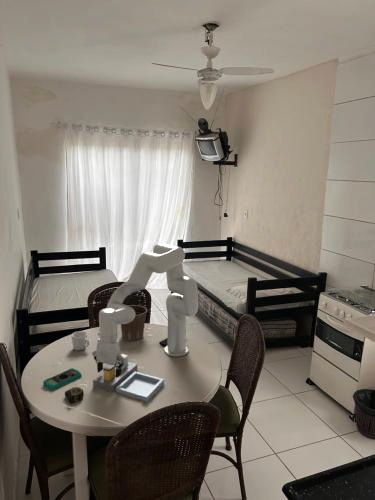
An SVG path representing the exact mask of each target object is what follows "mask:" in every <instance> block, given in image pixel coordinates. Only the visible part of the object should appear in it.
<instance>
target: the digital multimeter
mask: <svg viewBox="0 0 375 500" xmlns="http://www.w3.org/2000/svg"><path fill="white" fill-rule="evenodd" d="M80 378H82V373H81V372H80V371H79V370H78V369H75V368H69V369H68V370H65V371H63V372H60V373H58V374H56V375H54V376H52V377H49V378H47V379H44V380H43V384H42V385H43V386H44V388H46V389H48V390H51V391H56V390H57V389H59V388H61V387H63V386H65V385H67V384H70V383H71V382H74V381H76V380H78V379H80Z"/></svg>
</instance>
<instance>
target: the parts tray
mask: <svg viewBox="0 0 375 500" xmlns="http://www.w3.org/2000/svg"><path fill="white" fill-rule="evenodd" d="M164 385H165V378H162V377H157V376H153V375H150V374H146V373H143V372H138V371H135V372H134V373H133V374H131V375H130V376H129V377H128V378H127V379H126V380H125V381H123V382H122V383H121V384H120V385H119V386H118V387H117V388H116V389H115V393H116V394H120V395H123V396H126V397H129V398H133V399H136V400H140V401H143V403H146V404H148V402H149V401H150V400H151V399H152V398H153V397H154V396H155V395H156V394H157V393H158V391H160V389H161V388H162V387H163V386H164Z"/></svg>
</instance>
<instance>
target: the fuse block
mask: <svg viewBox="0 0 375 500" xmlns="http://www.w3.org/2000/svg"><path fill="white" fill-rule="evenodd" d="M116 369H117V368H116V367H115V377H114V378H113V379H112V380H110V381H107V380H104V375H103V372H100V374H99V375H98V376H96V377H95V378H94V379H93V380H92V385H93V386H92V387H95V388H98V389H101V390H105V391H106V392H110V393H113V392H115V391H116V388H117V387H118V386H119V385H120V384H121V383H122V382H123V381H125V380H126V379H127V378H128V377H129V376H130V375H131V374H133V373H134V372H135V371H136V372H138V363H135V362H130V361H128V366H127V367H126V368H125V369H124V370H121V375H120V376H119V377H118V378H116Z"/></svg>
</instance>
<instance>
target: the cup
mask: <svg viewBox="0 0 375 500" xmlns="http://www.w3.org/2000/svg"><path fill="white" fill-rule="evenodd" d="M71 343H72V347H73V349H74V350H75V351H82V350H85V349H86V348H88V347H89V345H90V340H89V338H88V333H87V332H86V331H83V330H79V331H74V332H73V333H71Z"/></svg>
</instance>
